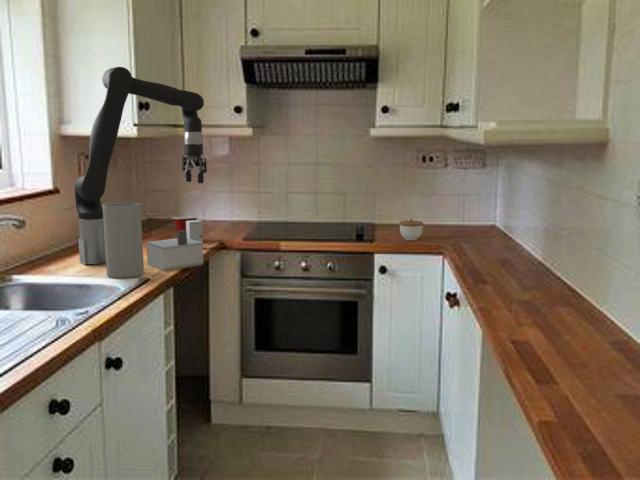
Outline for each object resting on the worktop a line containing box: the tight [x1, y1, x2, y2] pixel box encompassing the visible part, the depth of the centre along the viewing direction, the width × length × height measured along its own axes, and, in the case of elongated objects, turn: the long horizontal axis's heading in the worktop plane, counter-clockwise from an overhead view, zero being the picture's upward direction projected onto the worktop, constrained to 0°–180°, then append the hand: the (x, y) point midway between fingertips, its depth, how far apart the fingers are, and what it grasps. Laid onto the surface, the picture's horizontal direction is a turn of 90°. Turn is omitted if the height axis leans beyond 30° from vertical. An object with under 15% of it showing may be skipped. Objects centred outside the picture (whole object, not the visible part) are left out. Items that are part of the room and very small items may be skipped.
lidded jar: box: [398, 218, 424, 241], centre depth 295 cm, size 11×11×9 cm
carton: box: [145, 243, 204, 272], centre depth 242 cm, size 16×14×8 cm
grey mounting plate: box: [145, 230, 204, 249], centre depth 241 cm, size 16×14×6 cm
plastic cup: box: [172, 216, 198, 232], centre depth 288 cm, size 11×11×12 cm
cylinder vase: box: [102, 201, 145, 279], centre depth 225 cm, size 12×12×25 cm
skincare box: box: [186, 219, 204, 243], centre depth 273 cm, size 6×4×12 cm
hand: (194, 182), depth 268 cm, fingers open, 8 cm apart
